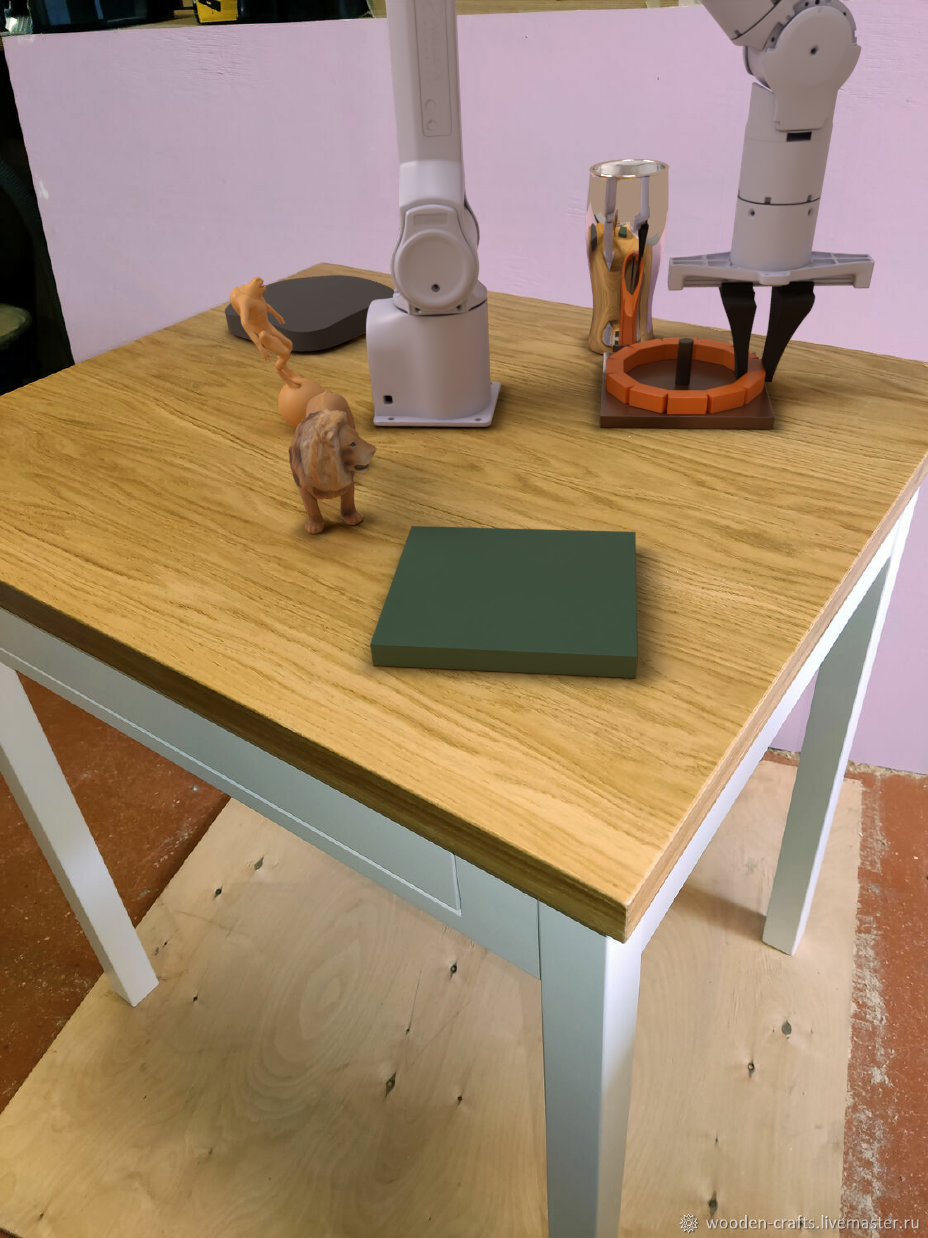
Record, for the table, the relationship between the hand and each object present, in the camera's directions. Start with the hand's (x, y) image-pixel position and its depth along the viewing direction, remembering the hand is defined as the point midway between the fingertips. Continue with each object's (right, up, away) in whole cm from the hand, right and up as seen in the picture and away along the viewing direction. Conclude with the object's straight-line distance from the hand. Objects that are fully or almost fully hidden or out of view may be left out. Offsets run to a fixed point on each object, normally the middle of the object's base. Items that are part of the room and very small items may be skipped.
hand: (752, 377), depth 73 cm
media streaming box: (-39, +11, +20) cm, 45 cm away
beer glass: (-9, +6, +11) cm, 15 cm away
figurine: (-37, -4, +1) cm, 37 cm away
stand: (-20, -19, -20) cm, 34 cm away
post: (-5, -1, +2) cm, 6 cm away
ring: (-5, 0, +1) cm, 6 cm away
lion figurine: (-32, -12, -10) cm, 35 cm away
